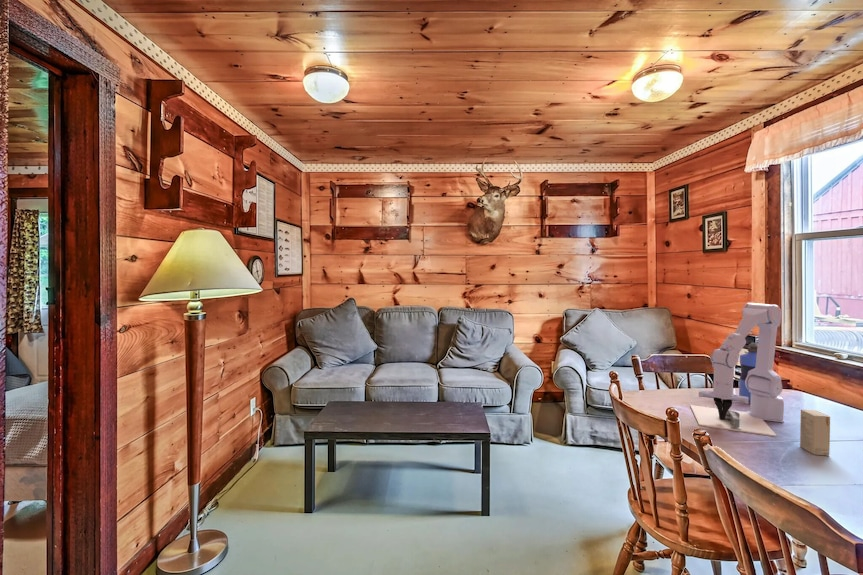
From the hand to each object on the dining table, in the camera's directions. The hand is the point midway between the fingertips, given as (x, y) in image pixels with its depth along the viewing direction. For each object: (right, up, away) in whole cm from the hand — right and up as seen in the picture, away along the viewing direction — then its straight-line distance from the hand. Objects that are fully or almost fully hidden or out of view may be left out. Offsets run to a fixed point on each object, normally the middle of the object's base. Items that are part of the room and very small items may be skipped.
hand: (721, 419), depth 144 cm
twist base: (+6, -2, +5) cm, 8 cm away
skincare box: (+14, -4, -20) cm, 25 cm away
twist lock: (+5, -1, +2) cm, 5 cm away
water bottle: (+33, -1, +26) cm, 42 cm away
